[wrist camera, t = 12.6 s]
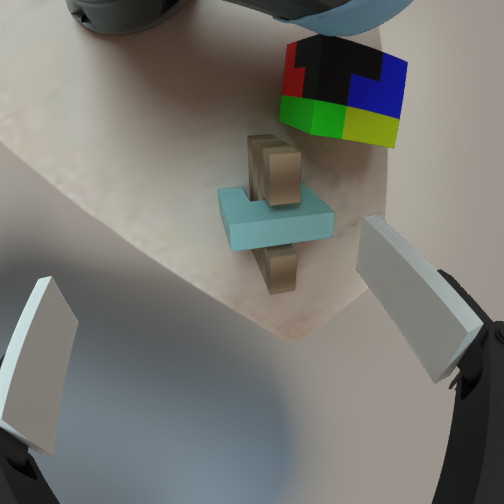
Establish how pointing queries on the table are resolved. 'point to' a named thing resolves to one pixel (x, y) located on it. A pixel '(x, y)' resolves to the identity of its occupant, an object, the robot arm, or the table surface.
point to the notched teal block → (273, 220)
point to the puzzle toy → (342, 90)
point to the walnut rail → (275, 203)
